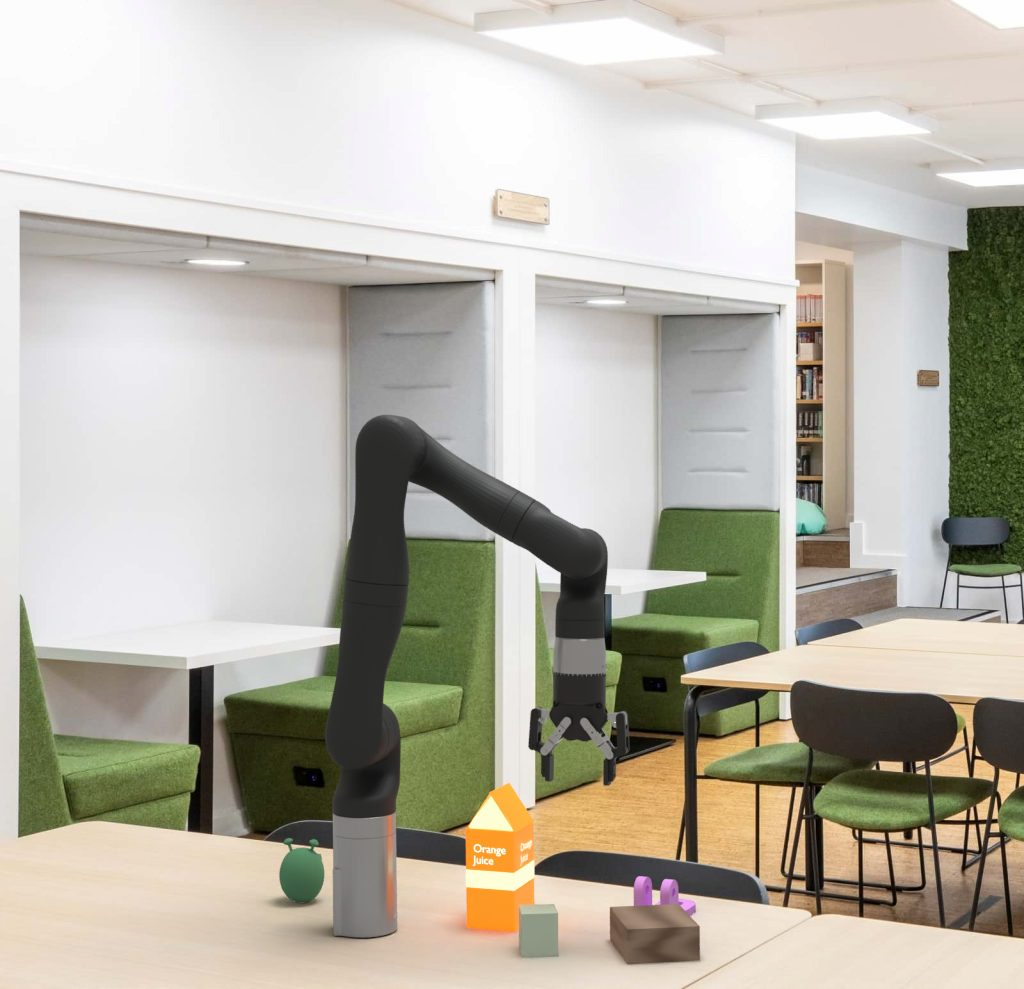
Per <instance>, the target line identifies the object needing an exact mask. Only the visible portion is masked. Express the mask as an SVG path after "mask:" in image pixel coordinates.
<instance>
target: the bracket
mask: <svg viewBox="0 0 1024 989" xmlns="http://www.w3.org/2000/svg"><path fill="white" fill-rule="evenodd" d="M652 883H653V882H652V880H651V878H650V877H649V876H641V875H640V876H639V875H638V876H637V877H636V878H635V881H634V885H633V906H643V905H653V884H652ZM660 885H661V886H660V889H659V890H660V892H659V894H660V895H659V901H658V902H656V903H655V904H654V905H666V904H679V905H680V906H681V907H682V908H683V909H684V910H685V911H686V912H687V913H688V914H689V915H690V917H692V916H693V915H694V914H696V912H697V911H696V909H697V908H696V907H697V904H696V902H695V901H694V900H691V899H688V898H679V885H678V881H677V880H676V879H669V878H665V879H663V881H662V883H661V884H660ZM693 913H694V914H693ZM692 914H693V915H692Z"/></svg>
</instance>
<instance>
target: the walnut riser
mask: <svg viewBox="0 0 1024 989" xmlns="http://www.w3.org/2000/svg"><path fill="white" fill-rule="evenodd" d="M700 928H701V926H700V925H699V924H698V922H696V921H695V920H694V918H692V916H690V915H689V914H688V913H687V912H686V911H685V910H684V909H683V908H682V907H681V906H680V905H679V904H666V905H655V904H652V905H643V906H634V905H623V906H609V941H610V943H612V946H614V948H615V949H616V950H617V952H618V953H619V954H620V956H621V957H622V959H623V960H624V961H625V963H626V965H639V964H640V965H641V964H658V963H659V964H660V963H662V964H663V963H678V962H683V963H684V962H697V961H698V962H701V941H700V940H701V939H700V938H701V935H700V934H701V933H700V932H701V930H700Z"/></svg>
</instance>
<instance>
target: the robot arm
mask: <svg viewBox="0 0 1024 989" xmlns="http://www.w3.org/2000/svg"><path fill="white" fill-rule="evenodd" d="M354 454H355V455H354V457H355V459H354V460H355V461H354V462H355V463H354V466H355V468H354V470H355V471H354V472H355V475H354V476H355V484H354V486H355V487H354V488H355V490H354V491H355V492H354V493H355V496H354V498H355V500H354V512H353V513H354V515H353V521H352V526H351V533H350V540H349V546H348V554H347V555H348V556H347V564H346V569H345V578H344V586H343V594H342V606H341V607H342V608H341V611H342V612H341V622H340V633H339V645H338V658H337V659H338V660H337V668H336V669H337V670H336V676H335V682H334V686H333V687H334V688H333V691H332V695H331V701H330V705H329V711H328V714H327V721H326V724H325V729H324V730H325V732H324V740H325V742H324V743H325V746H326V749H327V752H328V754H329V756H330V758H331V759H332V760H333V762H334V763H335V764H336V765H337V766H339V767H340V775H339V779H338V780H339V781H338V784H337V786H336V789H335V791H334V793H333V796H332V853H333V854H332V856H333V857H332V858H333V859H332V860H333V862H332V864H333V865H332V921H333V922H332V924H333V925H332V926H333V927H332V930H333V934H332V935H333V936H334V937H335V936H342V937H347V938H348V937H350V938H373V937H374V938H376V937H382V936H386V935H389V934H392V933H394V932H396V930H398V885H397V884H398V882H397V881H398V880H397V876H398V875H397V872H398V871H397V867H398V866H397V797H398V794H399V791H400V785H401V784H400V782H401V754H402V751H401V748H402V745H401V744H402V743H401V742H402V741H401V728H400V723H399V721H398V717H397V716H396V713H395V712H394V711H393V709H391V707H390V706H388V705H387V704H386V703H384V695H385V694H384V693H385V684H386V682H385V681H386V677H387V672H388V668H389V665H390V662H391V659H392V656H393V654H394V650H395V648H396V645H397V642H398V640H399V637H400V635H401V631H402V627H403V624H404V620H405V615H406V610H407V602H408V594H409V593H408V592H409V584H410V583H409V582H410V563H409V562H410V561H409V559H410V558H409V551H408V550H409V549H408V544H407V543H408V542H407V536H406V528H405V507H406V506H405V505H406V498H407V494H408V493H407V492H408V488H409V487H408V486H409V483H412V484H415V485H416V486H417V485H418V486H420V487H422V488H425V489H427V490H429V491H431V492H433V493H435V494H437V495H438V496H441V497H442V498H444V499H446V500H447V501H449V503H451V504H453V505H454V506H456V507H457V508H458V509H460V510H461V511H462V512H463V513H465V514H466V515H467V516H469V517H470V518H471V519H473V520H474V521H476V522H477V523H478V524H480V525H482V526H483V527H485V528H486V529H488V530H489V531H491V532H493V533H494V534H496V535H498V536H500V537H501V538H503V539H504V540H506V541H508V542H510V543H512V544H514V545H515V546H517V547H520V548H522V549H524V550H526V551H528V552H530V553H531V554H532V555H533V556H534V557H536V558H537V559H538V560H540V561H541V562H543V563H544V564H546V565H547V566H549V567H550V568H552V569H553V570H554V571H557V573H560V584H559V585H560V586H559V587H560V588H559V589H560V592H559V596H558V599H557V602H556V607H555V621H554V622H555V626H554V628H555V629H554V631H555V632H554V633H555V637H554V645H553V651H552V652H553V653H552V654H553V656H552V658H553V659H552V706H551V709H548V708H543V707H542V706H536V707H534V708H532V709H531V710H530V714H529V732H528V745H527V747H528V749H529V750H530V751H535V752H537V753H539V755H540V758H541V760H540V775H541V777H542V778H544V780H545V782H547V783H548V782H549V783H551V782H553V781H554V776H555V774H554V773H555V771H554V770H555V754H554V753H553V751H554V749H555V748H556V747H557V746H558V745H559V744H560V742H561V741H562V740H563V739H565V740H566V741H568V742H569V741H571V742H572V741H581V742H585V743H586V742H587V743H588V742H589V741H593V743H594V744H595V746H596V747H598V748H599V749H600V752H601V753H602V754H603V755H604V757H605V758H604V759H603V769H602V770H603V771H602V772H603V774H602V776H603V778H602V780H603V783H602V784H603V786H605V787H606V786H608V787H609V786H611V784H612V782H615V779H616V777H617V758H618V757H621V756H623V757H624V756H625V755H626V754H628V753H629V751H630V747H631V746H630V730H629V714H628V711H626V710H622V711H619V712H609V711H608V710H607V704H606V698H607V694H606V692H607V688H606V687H607V686H606V685H607V668H608V667H607V666H608V663H607V650H606V649H607V648H606V642H605V641H606V640H605V630H606V629H605V625H606V624H605V620H606V619H605V593H606V586H607V578H608V565H609V564H608V562H609V559H608V558H609V555H608V554H609V553H608V552H609V551H608V546H607V543H606V541H605V539H604V538H603V536H602V535H601V534H600V533H598V532H597V531H595V530H594V529H591V528H583V527H582V528H581V527H579V526H577V525H575V524H574V523H572V522H569V521H568V520H566V519H564V518H562V517H560V516H558V515H556V514H555V513H554V512H552V511H551V509H550V508H549V507H547V506H546V505H544V504H543V503H542V502H540V501H538V500H536V499H535V498H534V497H532V496H530V495H527V494H526V493H524V492H523V491H520V490H519V489H517V488H515V487H513V486H511V485H509V484H508V483H506V482H504V481H502V480H501V479H498V478H496V477H495V476H492V475H490V474H489V473H486V472H485V471H483V470H482V469H479V468H477V467H475V466H473V465H471V464H470V463H468V462H467V461H465V460H464V459H463V458H461V457H459V456H458V455H456V454H455V453H453V452H452V451H450V450H449V449H448V448H447V447H445V446H443V445H442V444H441V443H440V442H439V441H437V440H436V439H435V438H433V437H432V436H431V435H430V434H429V433H427V431H425V430H424V429H422V428H421V427H420V425H419V424H417V423H416V422H415V421H414V420H412V419H410V418H408V417H405V416H400V415H393V414H381V415H380V414H379V415H377V416H375V417H372V418H371V419H369V420H368V421H366V423H365V424H364V425H363V426H362V427H361V428H360V431H359V432H358V435H357V438H356V441H355V451H354ZM548 718H549V719H550V721H551V722H552V723H553V725H554V728H555V729H554V731H553V732H552V733H551V734H550V736H549V737H548V739H547V741H546V742H542V734H543V724H545V723H546V722H547V719H548ZM608 721H609V722H610V723H611V725H612V727H613V728H615V730H616V746H617V747H615V746H614V745H613V743H612V741H611V740H610V737H609V736H608V734H607V732H605V730H604V727H605V725H606V724H607V722H608Z"/></svg>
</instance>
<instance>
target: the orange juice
mask: <svg viewBox="0 0 1024 989" xmlns="http://www.w3.org/2000/svg"><path fill="white" fill-rule="evenodd" d="M488 793H489V794H488V796H487V797H486V799H485V800H484V801H483V802H482V804H481V806H480V808H479V809H478V811H477V812H476V814H474V817H473V818H472V820H471V821H470V823H469V824H468V825H467V827H466V828H465V889H466V892H465V893H466V900H465V901H466V928H467V929H477V930H485V931H486V930H489V931H500V932H501V931H502V932H509V933H511V932H512V933H516V932H517V931H519V905H535V853H534V852H535V851H534V850H535V849H534V846H535V845H534V844H535V843H534V842H535V838H534V837H535V836H534V833H535V832H534V822H535V821H534V819H533V818H532V816H531V814H530V813H529V811H528V810H527V807H526V806H525V805H524V803H523V802H522V800H521V799H520V797H519V794H518V793H517V792H516V791H515V789H514V787H513V786H512V784H511V782H507V783H506V784H504V785H501V786H500V787H498V788H495V789H494V790H491V791H489V792H488Z"/></svg>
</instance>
